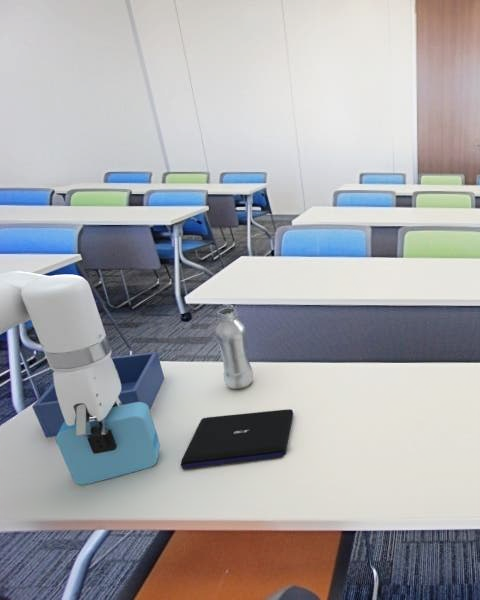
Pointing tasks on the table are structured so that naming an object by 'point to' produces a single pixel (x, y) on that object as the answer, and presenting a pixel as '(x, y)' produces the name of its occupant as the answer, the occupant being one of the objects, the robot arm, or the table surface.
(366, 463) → the table surface
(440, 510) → the table surface
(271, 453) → the laptop
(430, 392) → the table surface
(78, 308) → the robot arm
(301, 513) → the table surface
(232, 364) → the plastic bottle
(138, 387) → the blue bin
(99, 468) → the light blue rounded block
